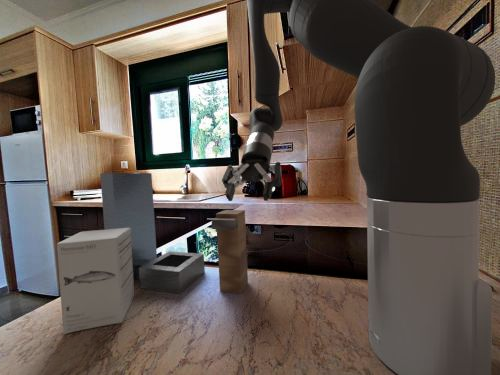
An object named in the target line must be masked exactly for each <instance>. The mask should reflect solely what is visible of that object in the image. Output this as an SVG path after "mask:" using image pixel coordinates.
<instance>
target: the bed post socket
mask: <svg viewBox="0 0 500 375" xmlns="http://www.w3.org/2000/svg"><path fill="white" fill-rule="evenodd" d="M99 175H100V187H101V188H100V189H101V200H102V202H101V203H102V213H103V216H102V217H103V224H104V225H103V226H104V229H103V230H107V229H118V228H131V249H132V264H133V281H135V280H139V287H140V289H144V290H151V291H157V292H165V293H172V294H178V295H179V294H180V295H182V293H183V292H184V291H185V290H186V289H187V288H189V287H190V286H191V285H192V284H193V283H194V282H195V281H196V280H198V279H199V278H200V277H201V276H202V275H204V273H205V270H206V269H205V254H204V253H197V252H182V251H167V252H166V253H164V254H162V255H160V256H158V252H157V239H156V237H157V236H156V224H155V207H154V192H153V179H152V178H153V176H152V172H151V173H150V172H149V173H148V172H147V173H146V172H143V173H140V172H134V173H133V172H110V173H109V172H108V173H107V172H105V173H100V174H99Z"/></svg>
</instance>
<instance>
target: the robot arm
mask: <svg viewBox="0 0 500 375" xmlns="http://www.w3.org/2000/svg"><path fill="white" fill-rule="evenodd" d="M246 4H247V6H246V7H247V14H248V16H247V17H248V23H249V32H250V40H251V42H250V43H251V48H252V49H251V50H252V54H253V55H252V56H253V66H254V99H255V101H256V102H257V103H258V104H259V105H262V106H265V107H255V108H253V109H251V111H250V114H249V126H250V132H249V135H248V136H249V137H248V139H247V140H246V143H245V146H244V150H243V153H242V155H241V160H240V164H239V165H238V166H236V167H235V166H233V165H232V164H229V165H228V166H227V167H226V170H225V172H224V174H223V176H222V179H221V182H222V184H223V186H224V188H225V189H226V190H225V193H224V194H225V197H226V199H227V201H229V202H232V201H233V199H234V196H235V193H236V189H237V188H238V187H239V186H243V185H244V184H245V183H251V182H255V183H257V182H258V183H259V181H261V182H262V183H263V185H264V186H263V192H262V197H263V200H264V202H268V201H269V199H271V197H272V193H273V188H275V187H278V188H280V187H281V186H282V173H283V172H282V166H281V162H279V161H277V162H275V164H272V165H271V159H272V156H273V142H274V138H275V132H277V131H279V130H280V129H281V127H282V125H283V115H282V114H283V113H282V111H281V110H282V109H281V105H280V95H279V94H280V93H279V92H280V83H281V81H280V80H281V70H280V65H279V62H278V60H277V58H276V55H275V53H274V51H273V49H272V47H271V46H270V42H269V40H268V37H267V34H266V27H265V15H266V14H267V15H268V14H269V15H270V14H276V13H277V14H278V13H279V14H280V13H289V26H290V30H291V33H292V35H293V37H294V38H295V40H296V41H297V42H298V44H300V45H301V46H302V47H303V49H305V50H306V51H307V52H308V53H309V54H311V56H313V57H315V58H316V59H318V60H319V61H321V62H323V63H324V64H327V65H329V66H331V67H332V68H334V69H337V70H338V71H341V72H344V73H345V74H348V75H350V76H352V77H354V78H356V79H357V83H356V88H355V95H354V121H355V122H354V123H355V125H354V126H355V136H356V137H355V138H356V151H357V154H356V155H357V163H358V168H359V171H360V174H361V177H362V178H363V180H364V183H365V188H366V222H367V223H366V226H367V227H366V228H367V231H366V233H367V236H366V237H367V238H366V239H367V300H368V301H367V302H368V303H367V305H368V308H367V309H368V311H367V312H368V318H367V326H368V341H369V342H368V343H369V345H370V347H371V349H372V352H374V353H375V355H376V356H377V358H378V359H379V360H380V361H381V362H382V363H383V364H384V365H385V366H386V367H388V369H390V370H391V371H392V372H394V373H395V374H397V375H492V342H493V341H492V338H493V336H492V334H493V332H492V331H493V330H492V327H493V326H492V324H493V319H492V318H493V287H491V285H490V284H489V283H488V282H486V281H485V280H484V279H481V277H479V276H480V208H481V207H480V206H481V205H480V203H481V202H480V201H481V200H480V198H481V197H480V196H481V180H480V179H481V178H480V173H479V171H478V170H477V168H476V167H475V166H474V165H473V164H472V163H471V162H470V160H469V158H468V157H467V156H468V155H467V154H466V153H465V149H464V146H463V143H462V133H461V131H462V130H461V127H462V126H464V125H466V124H468V123H470V122H471V121H472V120H474V119H475V118H477V117H478V116H479V115H480V113H482V112H483V111H484V109H485V108H486V107H487V105H488V104H489V102H490V100H491V98H492V97H493V94H494V90H495V86H496V71H495V68H494V64H493V62H492V60H491V58H490V56H489V55H488V53H487V52H486V50H484V49H483V48H481V47H480V46H478V45H477V44H475V43H473V42H471V41H469V40H467V39H465V38H463V37H460V36H458V35H456V34H454V33H451V32H450V31H448V30H445V29H442V28H440V27H436V26H429V25H428V26H427V25H420V26H418V25H417V26H413V27H412V26H410V25H407V23H404V22H402V21H400V20H399V19H398V18H396V17H395V16H394V15H392V13H390V12H389V11H388V10H386V9H385V8H384V7H382V6H381V5H380V4H378V3H377V2H375V1H374V0H246ZM271 172H272V173H273V174H274V177H273V178H271V177H270V176H269V174H270V173H271Z"/></svg>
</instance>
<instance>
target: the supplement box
mask: <svg viewBox="0 0 500 375" xmlns="http://www.w3.org/2000/svg"><path fill="white" fill-rule="evenodd" d="M56 250H57V265H58V266H57V267H58V279H59V292H60V303H61V319H62V320H61V321H62V333H63V334H64V335H67V334H71V333H75V332H78V331H84V330H88V329H94V328H100V327H104V326H109V325H117V324H121V323H123V321H124V320H125V317H126V316H127V314H128V311H129V309H130V307H131V305H132V303H133V300H134V298H135V290H134V289H135V284H134V280H133V264H132V249H131V228H118V229H107V230H105V229H96V230H87V231H86V230H85V231H80V232H78V233H76V234H73V235H71V236H69V237H67V238H65V239H64V240H61V241H59V242H57V243H56Z"/></svg>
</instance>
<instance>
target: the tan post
mask: <svg viewBox="0 0 500 375" xmlns="http://www.w3.org/2000/svg"><path fill="white" fill-rule="evenodd" d="M215 215H216V216H215V217H214V218H212V219H211V230H216V239H217V256H218V258H217V259H218V261H217V262H218V280H219V292H224V293H231V294H241V295H242V293H243V291H244V290H245V288H246V287H247V285H248V284H249V278H248V277H249V276H248V274H249V272H248V254H247V253H248V252H247V250H248V249H247V231H246V210H243V209H225V210H222V211H219V212H217V213H215Z"/></svg>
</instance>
